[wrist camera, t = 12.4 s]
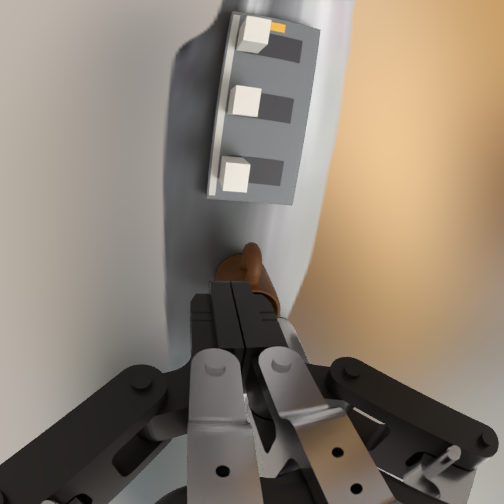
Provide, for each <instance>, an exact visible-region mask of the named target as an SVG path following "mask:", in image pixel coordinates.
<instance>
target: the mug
mask: <svg viewBox="0 0 504 504" xmlns="http://www.w3.org/2000/svg"><path fill="white" fill-rule="evenodd" d="M215 281H229V282H230V281H245V282H250V285H251V288H252V291H253V294H262V295H263V296H265V297H266V298H267V299H268V300H269V301H270V302H271V304H272V307H273V309H274V313H275V314H276V317H277V319H278V317H279V315H280V303H279V300H278V297H277V294H276V291H275V289H274V287H273V285H272V282H271V280H270V278H269V276H268V274H267V272H266V269H265V267H264V266H263V264H262V256H261V251H260V248H259V247H258V245H257V244H255V243H252V242H251V243H248V244H246V245H245V247H244V249H243V253H242V254H238V255H233V256H231V257H229V258H227V259H225V260H224V261H223V262H222V263H221V264H220V265H219V267H218V268H217V271H216V274H215Z"/></svg>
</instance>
